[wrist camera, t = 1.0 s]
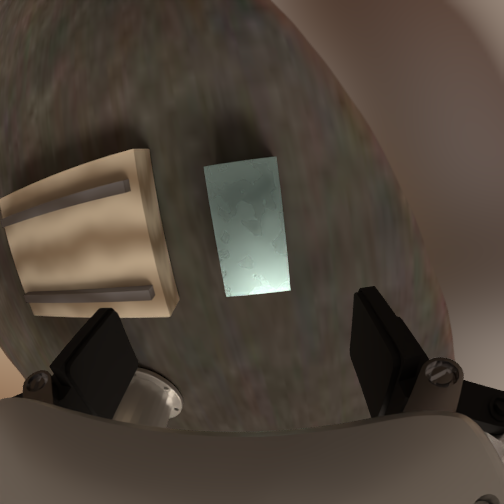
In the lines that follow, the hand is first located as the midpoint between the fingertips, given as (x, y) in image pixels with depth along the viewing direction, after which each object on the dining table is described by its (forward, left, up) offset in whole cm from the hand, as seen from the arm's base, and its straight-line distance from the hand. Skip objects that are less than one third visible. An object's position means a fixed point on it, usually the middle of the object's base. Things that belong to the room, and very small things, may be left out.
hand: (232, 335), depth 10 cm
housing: (0, 0, -21) cm, 21 cm away
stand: (0, +22, -20) cm, 30 cm away
